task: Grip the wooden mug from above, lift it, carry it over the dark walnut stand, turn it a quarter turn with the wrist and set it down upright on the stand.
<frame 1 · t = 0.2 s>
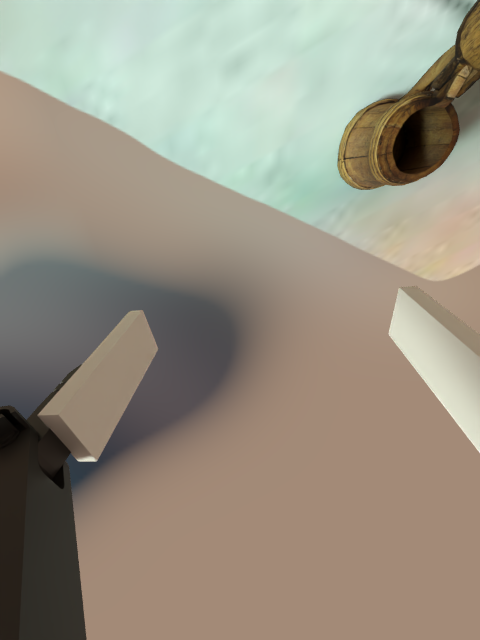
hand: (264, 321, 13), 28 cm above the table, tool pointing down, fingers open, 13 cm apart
wooden mug: (382, 127, 30), on the table
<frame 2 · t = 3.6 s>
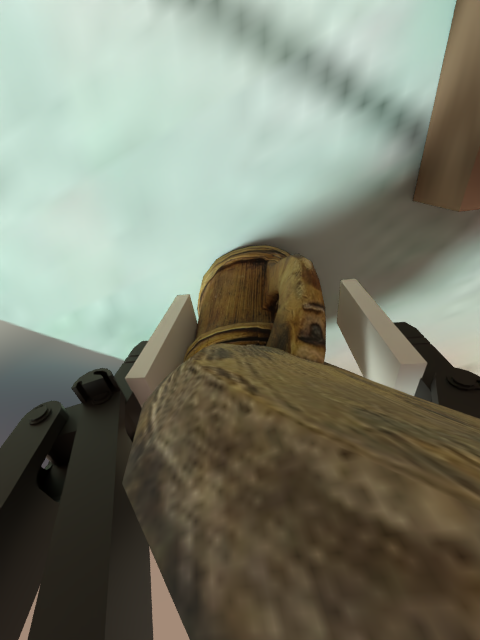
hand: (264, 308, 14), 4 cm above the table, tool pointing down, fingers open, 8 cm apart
wooden mug: (266, 276, 18), on the table, touching gripper
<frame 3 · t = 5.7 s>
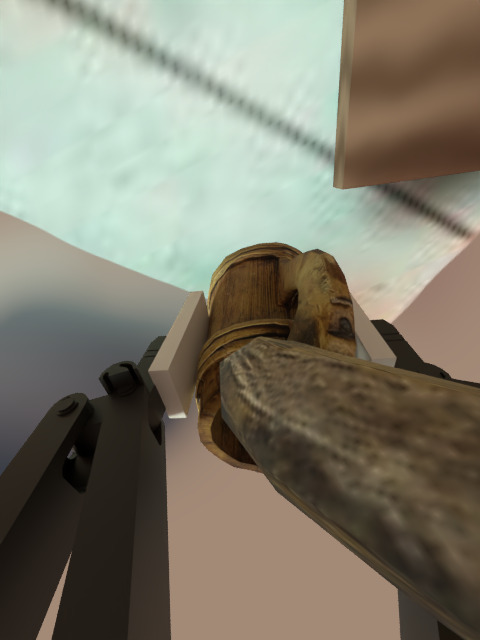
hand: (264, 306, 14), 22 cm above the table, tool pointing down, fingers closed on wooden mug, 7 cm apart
wooden mug: (275, 274, 18), point 18 cm above the table, touching gripper
walnut stand: (433, 70, 24), on the table
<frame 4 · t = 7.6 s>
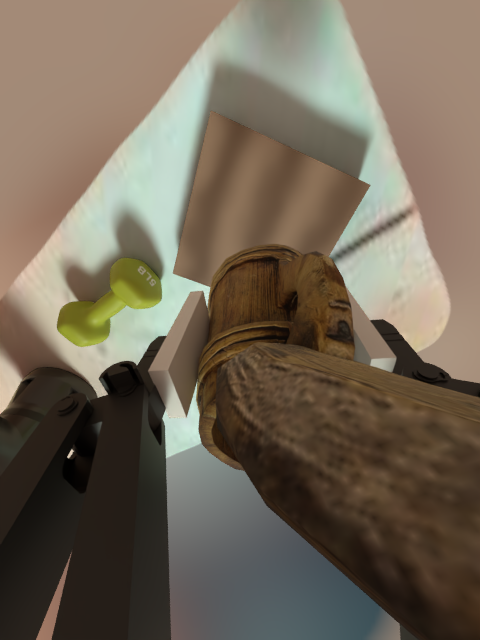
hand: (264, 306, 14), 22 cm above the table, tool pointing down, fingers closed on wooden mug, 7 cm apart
wooden mug: (275, 275, 18), point 18 cm above the table, touching gripper
walnut stand: (259, 227, 33), on the table
dumbbell: (121, 293, 40), on the table
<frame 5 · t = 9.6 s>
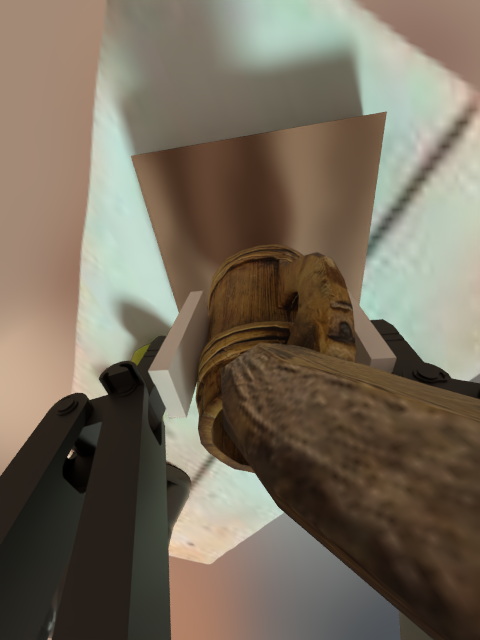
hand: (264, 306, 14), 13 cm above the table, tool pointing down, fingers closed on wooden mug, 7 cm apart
wooden mug: (275, 275, 18), point 8 cm above the table, touching gripper
walnut stand: (261, 247, 25), on the table
when the fingers open (9 cm above the table, at t = 11.0 s): wooden mug drops 1 cm, resting on walnut stand.
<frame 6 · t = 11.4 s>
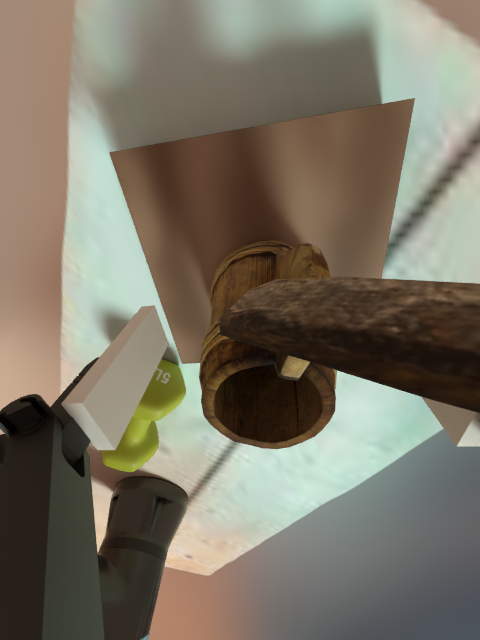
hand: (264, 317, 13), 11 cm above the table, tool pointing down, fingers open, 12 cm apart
wooden mug: (274, 270, 19), point 4 cm above the table, touching walnut stand
walnut stand: (262, 255, 22), on the table
dumbbell: (151, 392, 34), on the table
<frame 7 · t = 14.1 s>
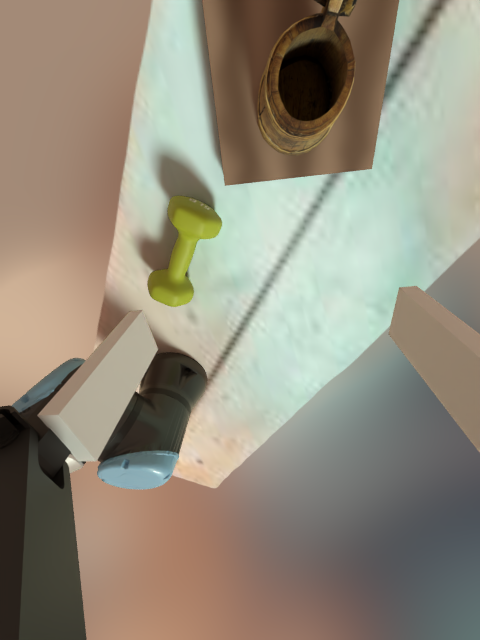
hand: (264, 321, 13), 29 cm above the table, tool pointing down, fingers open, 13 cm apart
wooden mug: (305, 78, 26), point 4 cm above the table, touching walnut stand
walnut stand: (293, 88, 29), on the table
dumbbell: (188, 248, 41), on the table
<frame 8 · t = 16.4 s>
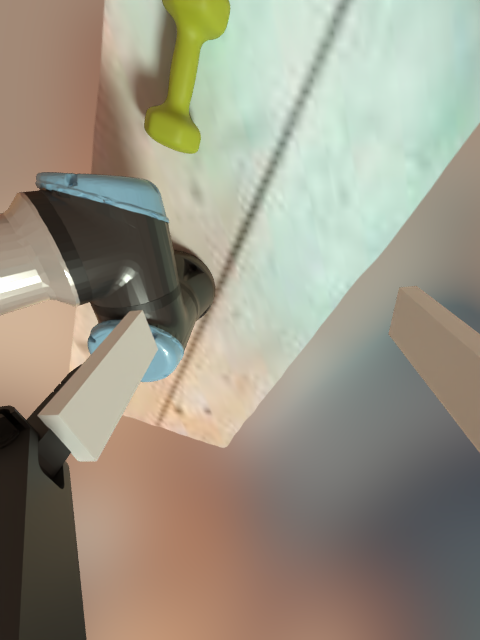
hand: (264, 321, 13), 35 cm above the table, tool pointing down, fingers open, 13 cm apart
dumbbell: (190, 82, 34), on the table
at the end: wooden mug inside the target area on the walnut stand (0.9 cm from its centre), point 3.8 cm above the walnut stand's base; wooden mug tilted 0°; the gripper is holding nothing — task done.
